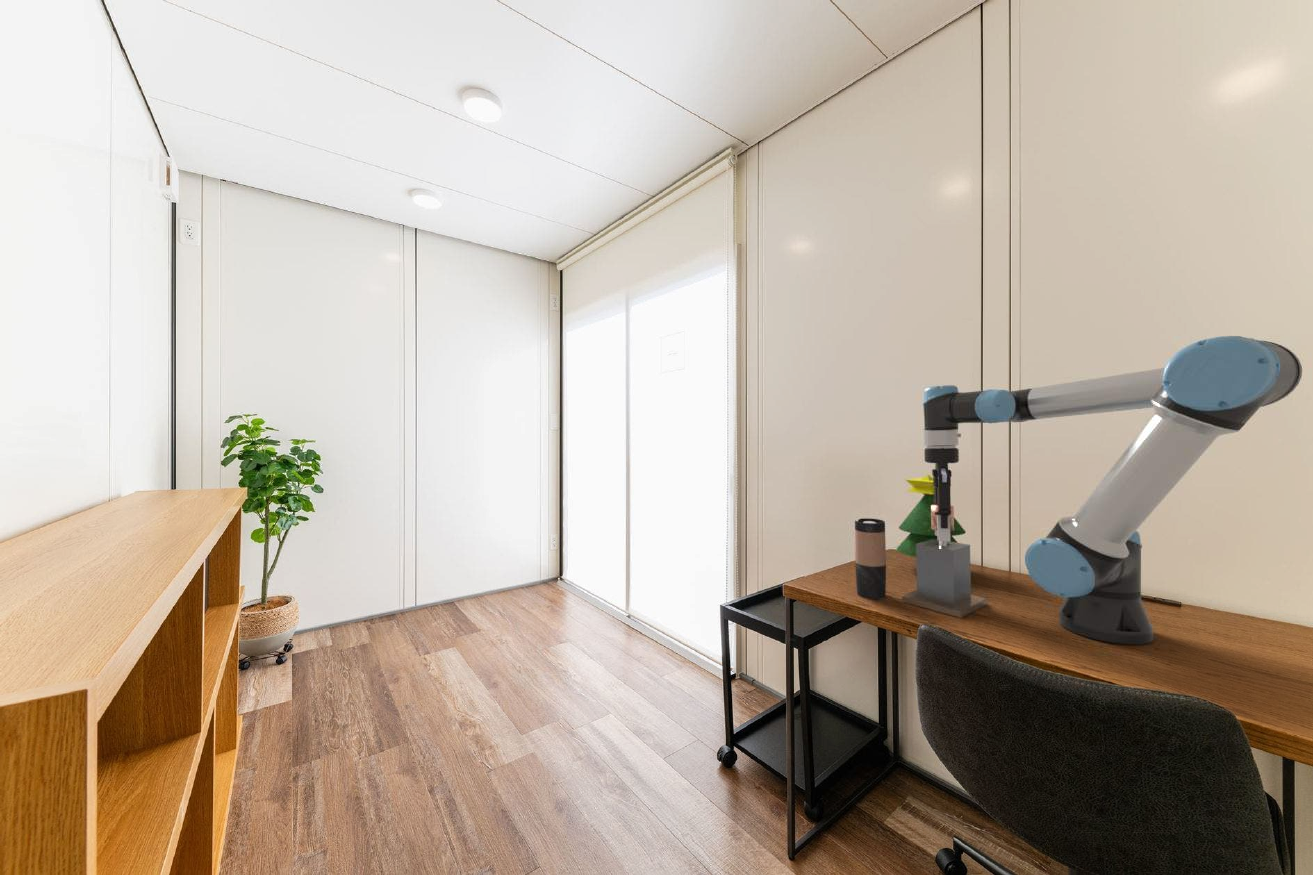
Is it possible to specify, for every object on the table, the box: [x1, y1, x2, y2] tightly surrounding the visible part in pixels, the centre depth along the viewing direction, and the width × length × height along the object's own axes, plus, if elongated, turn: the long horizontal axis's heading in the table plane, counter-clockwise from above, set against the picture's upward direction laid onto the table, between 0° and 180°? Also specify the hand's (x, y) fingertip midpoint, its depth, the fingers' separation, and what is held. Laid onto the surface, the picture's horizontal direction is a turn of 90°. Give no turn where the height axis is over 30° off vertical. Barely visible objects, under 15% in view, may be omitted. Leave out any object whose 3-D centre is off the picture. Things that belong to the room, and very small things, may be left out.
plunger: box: [931, 504, 955, 546], centre depth 125 cm, size 5×5×21 cm
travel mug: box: [854, 517, 887, 600], centre depth 133 cm, size 8×8×20 cm
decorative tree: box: [896, 474, 967, 558], centre depth 152 cm, size 19×19×30 cm
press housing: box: [901, 539, 987, 619], centre depth 125 cm, size 14×14×15 cm
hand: (942, 538), depth 125 cm, fingers open, 5 cm apart
